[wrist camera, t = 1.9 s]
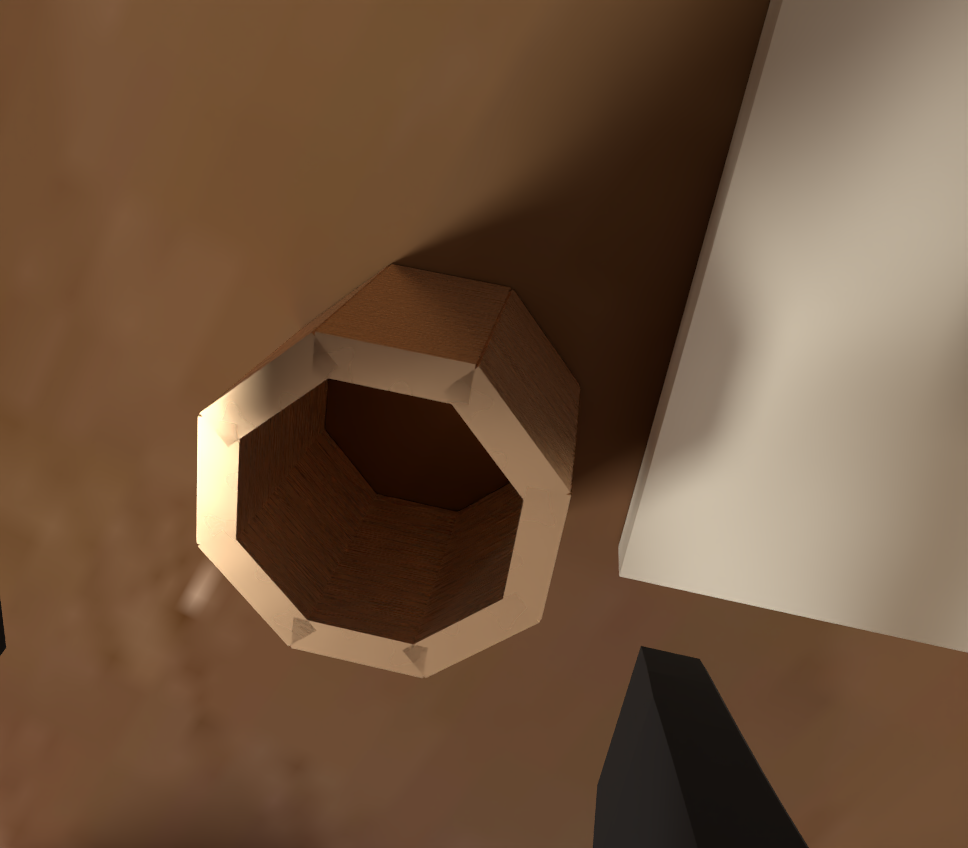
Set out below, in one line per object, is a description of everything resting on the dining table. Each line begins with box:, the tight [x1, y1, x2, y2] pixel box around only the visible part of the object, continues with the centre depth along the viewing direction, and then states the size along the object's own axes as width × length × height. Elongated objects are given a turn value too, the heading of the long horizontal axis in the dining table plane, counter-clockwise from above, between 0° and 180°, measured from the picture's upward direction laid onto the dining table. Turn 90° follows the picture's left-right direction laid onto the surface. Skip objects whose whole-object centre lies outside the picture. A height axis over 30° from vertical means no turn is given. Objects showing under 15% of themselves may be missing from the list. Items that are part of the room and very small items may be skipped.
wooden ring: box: [197, 264, 581, 678], centre depth 13 cm, size 5×5×4 cm
